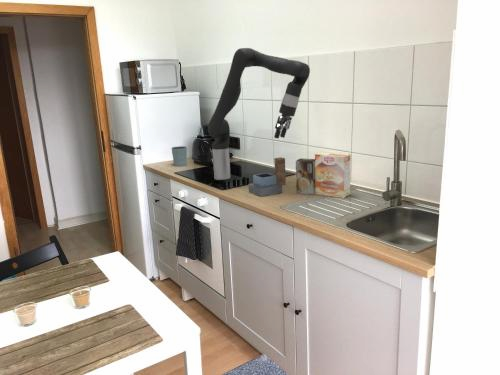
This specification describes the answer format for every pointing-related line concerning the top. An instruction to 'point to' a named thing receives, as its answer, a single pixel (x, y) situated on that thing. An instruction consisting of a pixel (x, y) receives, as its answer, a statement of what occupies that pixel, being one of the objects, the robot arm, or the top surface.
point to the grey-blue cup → (179, 155)
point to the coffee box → (305, 176)
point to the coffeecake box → (332, 174)
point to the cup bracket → (264, 185)
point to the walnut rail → (280, 170)
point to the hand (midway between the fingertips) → (279, 137)
